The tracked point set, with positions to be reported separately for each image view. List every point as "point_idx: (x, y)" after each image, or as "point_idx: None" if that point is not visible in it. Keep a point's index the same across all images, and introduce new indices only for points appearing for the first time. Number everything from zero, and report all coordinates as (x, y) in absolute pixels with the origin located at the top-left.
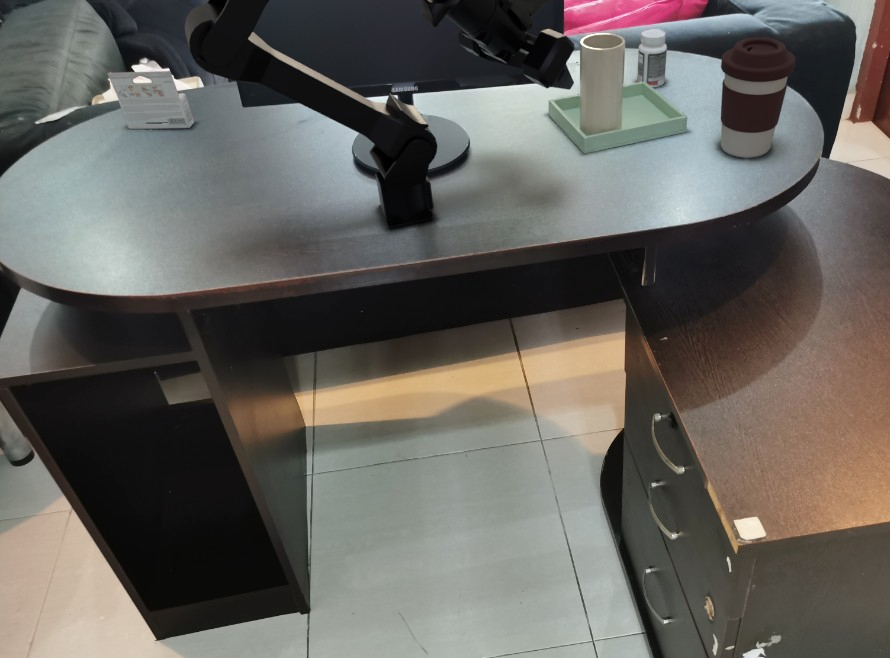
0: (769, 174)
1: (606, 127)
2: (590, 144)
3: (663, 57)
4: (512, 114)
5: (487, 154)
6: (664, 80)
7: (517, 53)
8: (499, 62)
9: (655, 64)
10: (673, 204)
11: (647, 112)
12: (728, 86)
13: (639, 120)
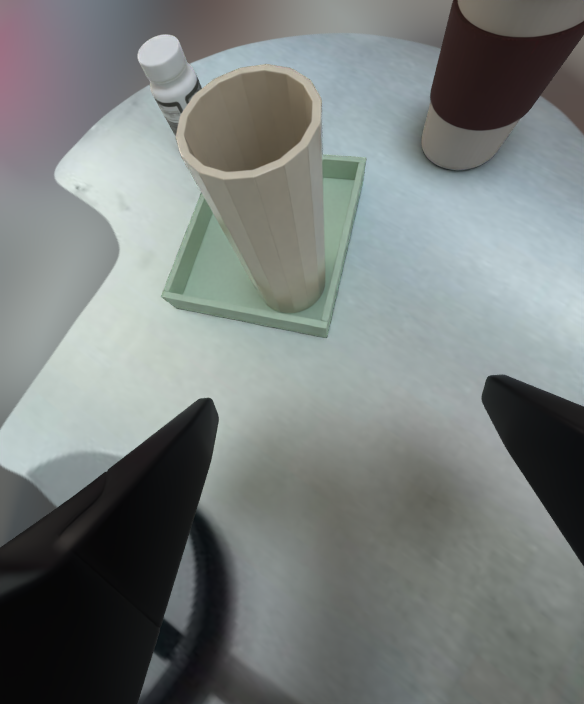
0: (554, 158)
1: (322, 277)
2: (329, 322)
3: (201, 88)
4: (131, 353)
5: (217, 477)
6: None
7: (167, 482)
8: (162, 612)
9: None
10: (575, 321)
11: None
12: (527, 32)
13: None
